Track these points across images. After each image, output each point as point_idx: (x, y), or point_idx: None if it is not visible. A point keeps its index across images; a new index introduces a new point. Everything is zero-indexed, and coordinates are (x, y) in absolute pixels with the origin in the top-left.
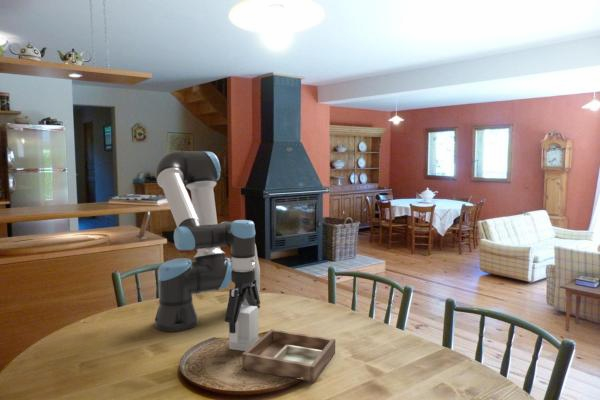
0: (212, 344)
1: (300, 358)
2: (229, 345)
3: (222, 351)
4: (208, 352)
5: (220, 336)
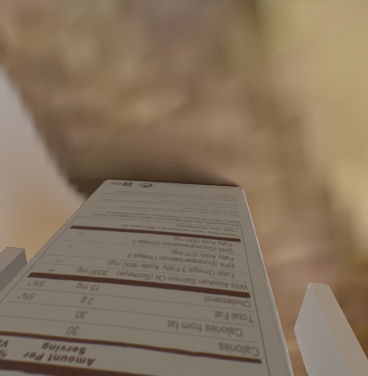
0: (127, 29)
1: None
2: (96, 190)
3: (62, 153)
4: (7, 71)
5: (293, 13)
